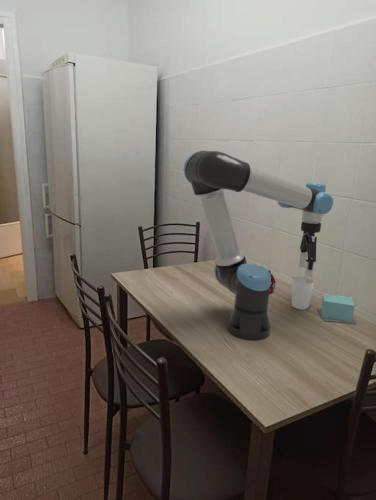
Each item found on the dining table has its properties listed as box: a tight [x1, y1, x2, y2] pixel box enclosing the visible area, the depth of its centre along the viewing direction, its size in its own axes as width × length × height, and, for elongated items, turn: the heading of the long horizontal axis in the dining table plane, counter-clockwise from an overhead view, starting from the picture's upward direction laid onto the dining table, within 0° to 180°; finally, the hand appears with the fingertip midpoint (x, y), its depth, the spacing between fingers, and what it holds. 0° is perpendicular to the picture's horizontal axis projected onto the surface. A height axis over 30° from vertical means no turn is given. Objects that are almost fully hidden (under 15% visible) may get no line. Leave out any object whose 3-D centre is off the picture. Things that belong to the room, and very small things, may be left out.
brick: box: [320, 292, 355, 322], centre depth 146 cm, size 9×11×7 cm
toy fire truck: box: [267, 269, 277, 295], centre depth 170 cm, size 7×12×10 cm, turn 96°
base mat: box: [316, 307, 357, 325], centre depth 147 cm, size 12×12×1 cm
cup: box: [291, 276, 315, 310], centre depth 154 cm, size 9×9×12 cm
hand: (305, 271), depth 151 cm, fingers open, 13 cm apart
